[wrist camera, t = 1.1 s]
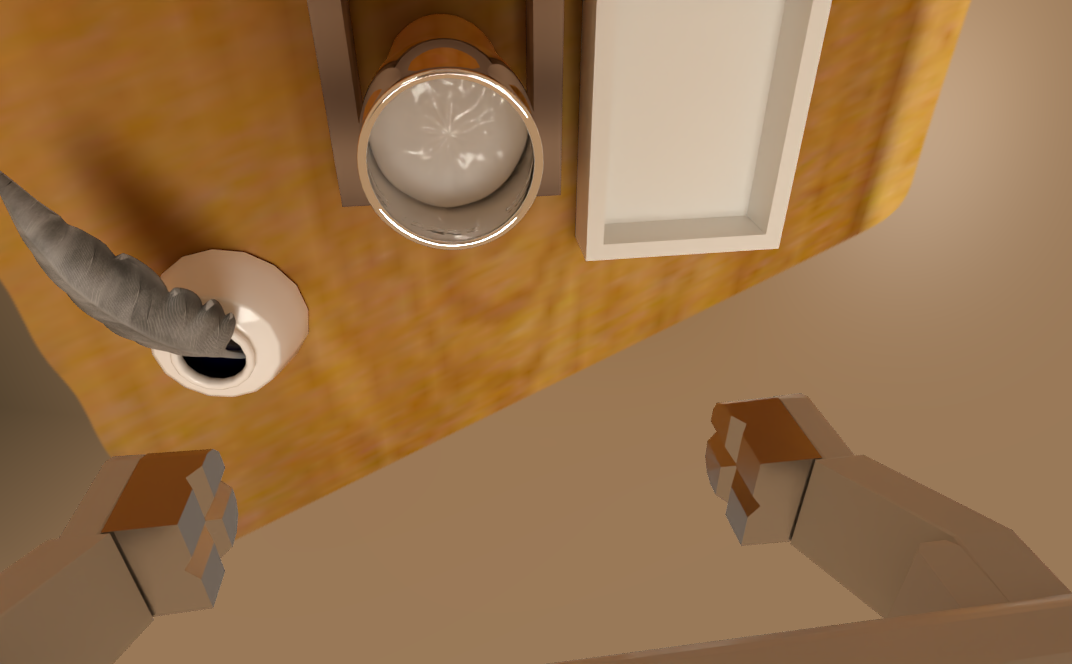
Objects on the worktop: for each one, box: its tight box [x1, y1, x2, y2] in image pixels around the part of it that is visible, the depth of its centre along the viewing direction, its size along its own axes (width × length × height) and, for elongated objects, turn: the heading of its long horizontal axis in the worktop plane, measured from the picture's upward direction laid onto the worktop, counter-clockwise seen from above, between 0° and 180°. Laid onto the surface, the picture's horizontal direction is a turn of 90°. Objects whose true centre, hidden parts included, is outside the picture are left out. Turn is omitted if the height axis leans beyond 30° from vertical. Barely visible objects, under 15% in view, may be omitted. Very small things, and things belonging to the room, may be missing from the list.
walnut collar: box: [307, 0, 564, 207], centre depth 35 cm, size 12×12×3 cm
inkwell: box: [0, 171, 308, 397], centre depth 35 cm, size 9×18×10 cm, turn 24°
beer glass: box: [357, 14, 543, 250], centre depth 30 cm, size 7×7×15 cm
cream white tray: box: [575, 0, 832, 261], centre depth 37 cm, size 16×12×4 cm
